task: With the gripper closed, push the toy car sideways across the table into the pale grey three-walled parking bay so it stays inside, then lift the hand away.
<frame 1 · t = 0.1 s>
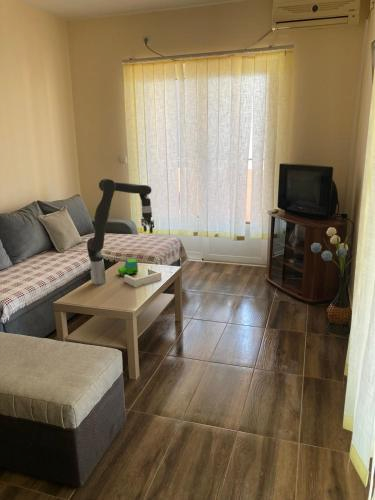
hand: (148, 232, 306), 29 cm above the table, tool pointing down, fingers open, 8 cm apart
toy car: (128, 274, 304), on the table
parking bay: (141, 279, 289), on the table
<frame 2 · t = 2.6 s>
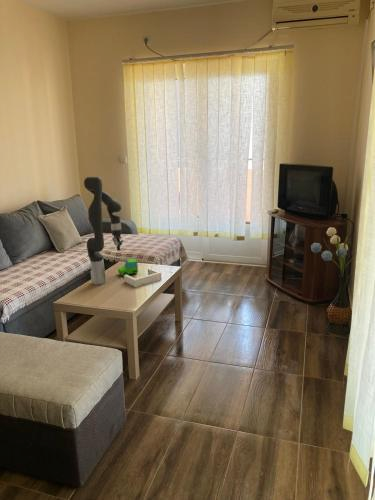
hand: (118, 250, 308), 16 cm above the table, tool pointing down, fingers closed
nothing on the table moved.
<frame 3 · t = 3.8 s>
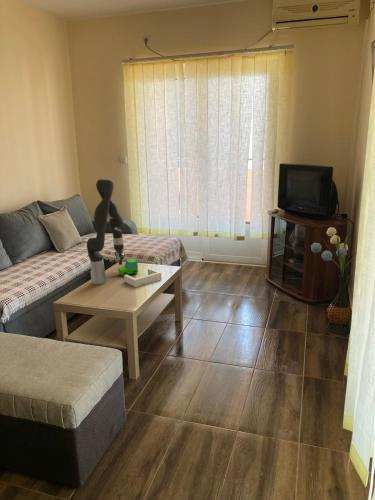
hand: (120, 264, 311), 5 cm above the table, tool pointing down, fingers closed
nothing on the table moved.
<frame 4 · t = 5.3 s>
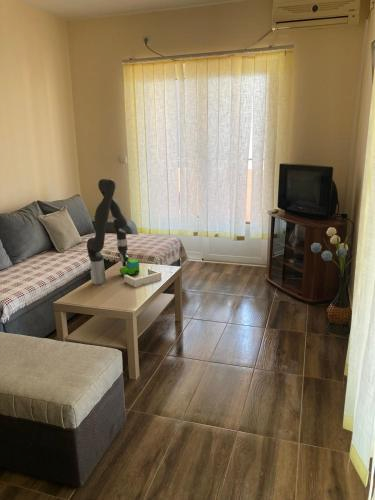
hand: (124, 266, 306), 5 cm above the table, tool pointing down, fingers closed
toy car: (129, 274, 303), on the table, touching gripper
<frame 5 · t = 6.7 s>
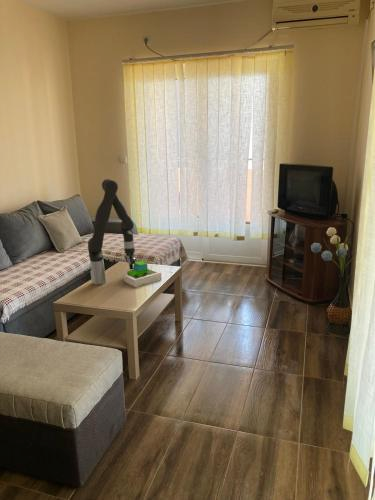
hand: (131, 268, 298), 5 cm above the table, tool pointing down, fingers closed
toy car: (137, 277, 295), on the table, touching gripper
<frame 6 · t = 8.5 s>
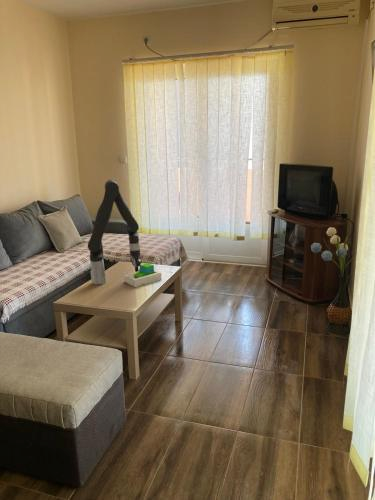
hand: (136, 271, 292), 5 cm above the table, tool pointing down, fingers closed
toy car: (144, 279, 290), on the table, touching gripper
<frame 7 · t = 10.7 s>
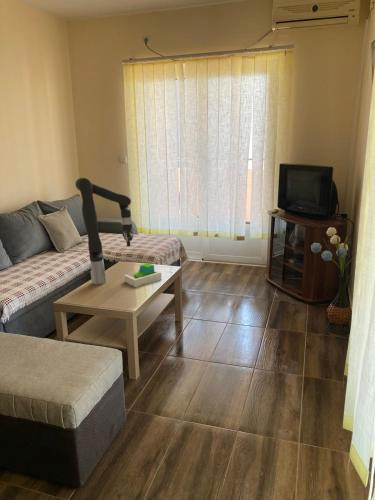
hand: (128, 246, 294), 23 cm above the table, tool pointing down, fingers closed
toy car: (144, 279, 290), on the table
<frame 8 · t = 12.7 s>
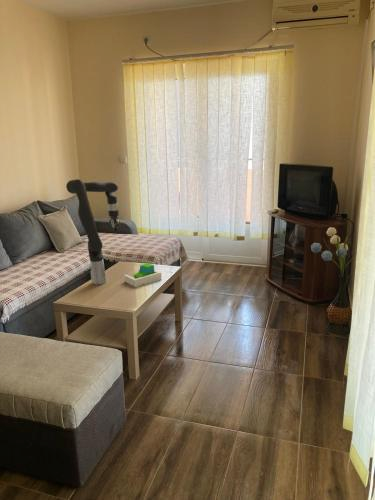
hand: (115, 232, 299), 32 cm above the table, tool pointing down, fingers closed
nothing on the table moved.
at the end: toy car inside the target area on the parking bay (2.3 cm from its centre), point 0.0 cm above the parking bay's base; toy car tilted 0°; toy car moved 19.9 cm from its start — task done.
